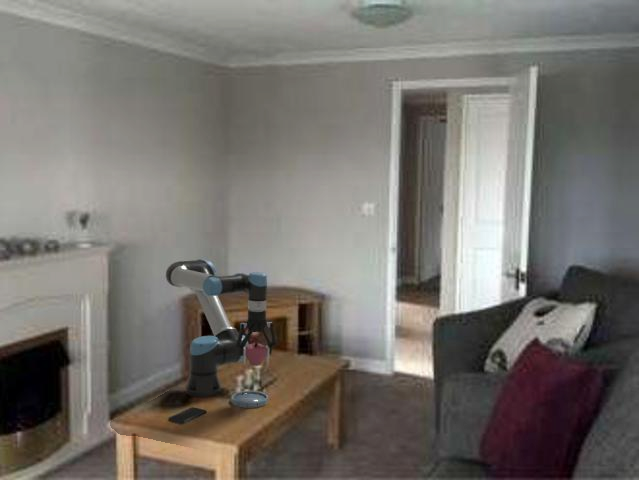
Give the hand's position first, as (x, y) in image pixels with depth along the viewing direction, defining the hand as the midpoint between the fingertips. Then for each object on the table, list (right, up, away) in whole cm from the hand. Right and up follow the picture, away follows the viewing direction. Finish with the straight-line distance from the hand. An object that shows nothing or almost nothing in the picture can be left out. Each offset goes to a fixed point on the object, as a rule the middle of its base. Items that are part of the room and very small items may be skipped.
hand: (255, 362), depth 284 cm
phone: (-24, -17, -22) cm, 37 cm away
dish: (-2, -16, -3) cm, 16 cm away
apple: (0, -1, 0) cm, 1 cm away
